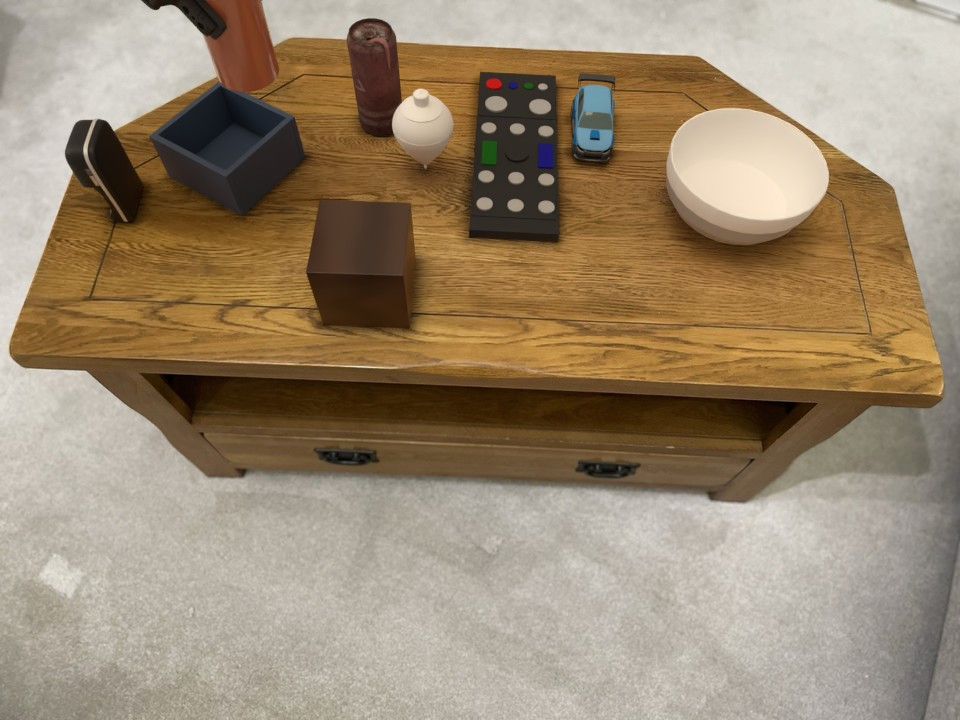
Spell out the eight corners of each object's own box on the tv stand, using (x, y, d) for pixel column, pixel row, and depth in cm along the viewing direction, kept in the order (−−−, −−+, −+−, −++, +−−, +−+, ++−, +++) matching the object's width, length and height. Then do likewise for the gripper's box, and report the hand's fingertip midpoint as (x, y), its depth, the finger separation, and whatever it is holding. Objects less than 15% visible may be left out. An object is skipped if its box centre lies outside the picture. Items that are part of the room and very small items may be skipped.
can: (385, 144, 91) (374, 53, 79) (351, 124, 93) (335, 32, 81) (413, 121, 94) (407, 29, 82) (380, 102, 96) (368, 9, 84)
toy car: (568, 165, 90) (575, 131, 85) (570, 106, 96) (576, 71, 91) (611, 168, 90) (620, 135, 85) (610, 109, 96) (618, 75, 91)
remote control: (554, 84, 99) (556, 72, 97) (557, 242, 84) (559, 231, 82) (479, 80, 99) (480, 68, 97) (469, 237, 84) (469, 226, 82)
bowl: (817, 197, 89) (850, 146, 81) (766, 292, 80) (797, 246, 73) (687, 140, 93) (707, 88, 86) (627, 225, 85) (643, 175, 78)
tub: (242, 216, 84) (225, 177, 78) (169, 176, 87) (148, 136, 82) (305, 157, 90) (294, 116, 84) (235, 122, 93) (219, 80, 87)
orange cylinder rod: (276, 92, 65) (235, -57, 53) (214, 92, 65) (158, -57, 53) (281, 53, 68) (244, -96, 56) (222, 53, 68) (171, -97, 56)
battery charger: (115, 184, 87) (71, 112, 77) (145, 183, 87) (104, 111, 77) (103, 225, 83) (55, 155, 73) (134, 224, 83) (90, 154, 73)
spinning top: (386, 161, 90) (377, 85, 79) (435, 140, 92) (432, 64, 82) (414, 197, 87) (408, 123, 76) (464, 175, 89) (465, 100, 78)
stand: (323, 325, 76) (305, 272, 68) (334, 257, 81) (319, 199, 73) (409, 328, 77) (403, 275, 68) (415, 259, 82) (410, 202, 73)
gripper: (16, -168, 46) (209, 39, 54) (154, -241, 53) (308, -46, 61) (3, -104, 52) (180, 75, 60) (130, -177, 59) (274, -7, 66)
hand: (244, 13), depth 60 cm, fingers closed on orange cylinder rod, 6 cm apart
